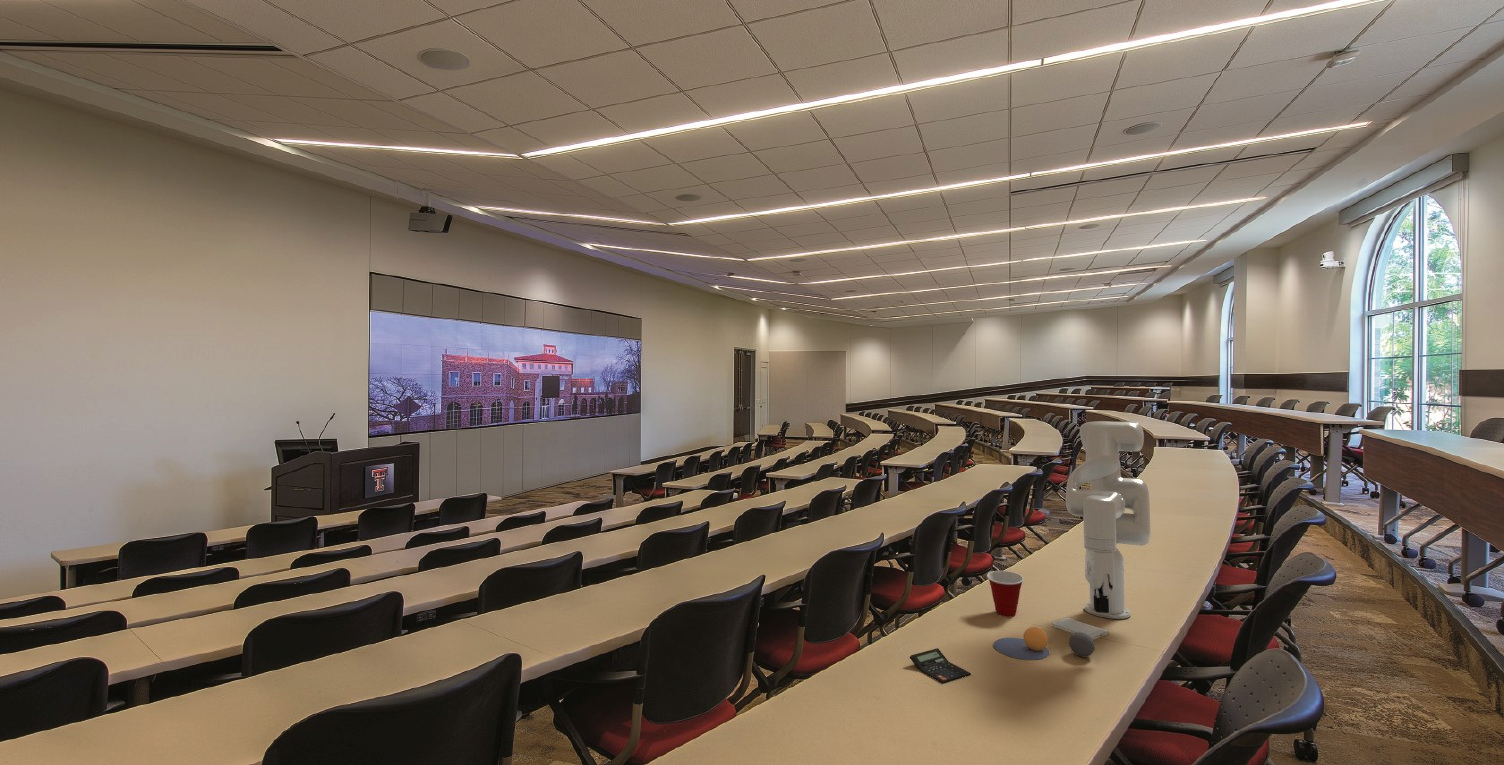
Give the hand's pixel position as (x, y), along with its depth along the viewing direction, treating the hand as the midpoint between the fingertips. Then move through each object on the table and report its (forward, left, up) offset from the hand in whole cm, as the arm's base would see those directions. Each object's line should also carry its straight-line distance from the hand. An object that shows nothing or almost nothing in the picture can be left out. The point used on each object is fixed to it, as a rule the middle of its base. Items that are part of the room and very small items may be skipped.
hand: (1101, 611), depth 165 cm
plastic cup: (-26, -20, -12) cm, 35 cm away
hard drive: (-17, -1, -12) cm, 21 cm away
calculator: (+19, -42, -12) cm, 48 cm away
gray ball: (+2, -5, -8) cm, 10 cm away
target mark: (+1, -20, -11) cm, 23 cm away
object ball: (+1, -16, -8) cm, 19 cm away
